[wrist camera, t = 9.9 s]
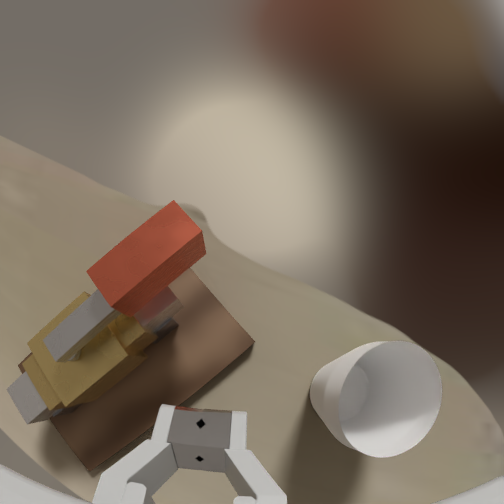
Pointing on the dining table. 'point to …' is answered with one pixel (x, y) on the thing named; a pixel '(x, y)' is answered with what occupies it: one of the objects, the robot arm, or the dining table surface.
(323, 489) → the dining table surface
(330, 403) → the cup
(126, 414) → the board
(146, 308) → the valve
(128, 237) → the lever
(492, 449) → the dining table surface
